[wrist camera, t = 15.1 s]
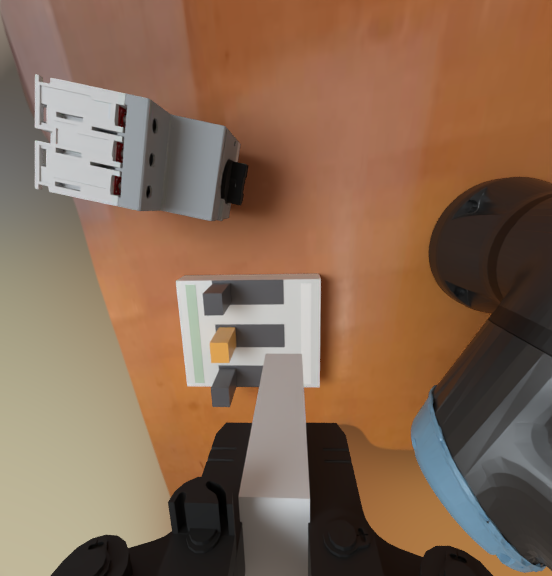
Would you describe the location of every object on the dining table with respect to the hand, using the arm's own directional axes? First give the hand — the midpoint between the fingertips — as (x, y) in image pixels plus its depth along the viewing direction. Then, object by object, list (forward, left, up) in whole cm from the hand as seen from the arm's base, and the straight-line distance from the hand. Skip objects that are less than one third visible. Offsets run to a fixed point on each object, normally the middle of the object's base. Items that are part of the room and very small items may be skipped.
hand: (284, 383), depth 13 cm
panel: (+5, +8, -26) cm, 28 cm away
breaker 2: (+8, +14, -23) cm, 28 cm away
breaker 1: (+8, +2, -23) cm, 25 cm away
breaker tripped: (+8, +8, -23) cm, 26 cm away
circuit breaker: (+11, -11, -27) cm, 31 cm away
